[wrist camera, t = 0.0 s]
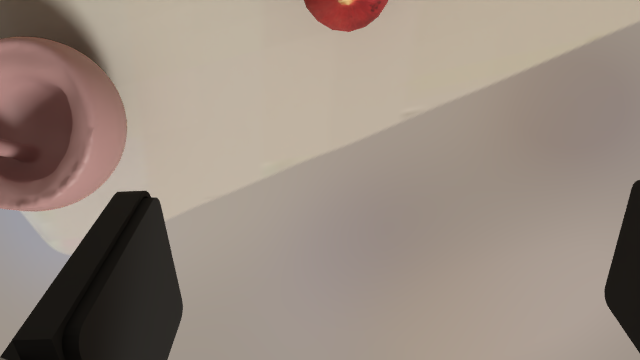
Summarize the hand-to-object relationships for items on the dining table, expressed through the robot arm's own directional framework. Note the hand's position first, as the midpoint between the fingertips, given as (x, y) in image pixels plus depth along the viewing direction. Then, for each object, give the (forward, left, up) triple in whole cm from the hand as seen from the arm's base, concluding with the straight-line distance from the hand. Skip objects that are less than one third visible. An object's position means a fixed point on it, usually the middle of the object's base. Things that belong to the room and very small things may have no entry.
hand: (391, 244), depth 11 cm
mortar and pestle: (+7, -22, -31) cm, 39 cm away
